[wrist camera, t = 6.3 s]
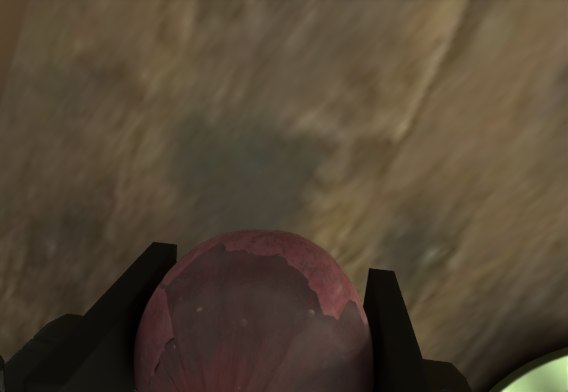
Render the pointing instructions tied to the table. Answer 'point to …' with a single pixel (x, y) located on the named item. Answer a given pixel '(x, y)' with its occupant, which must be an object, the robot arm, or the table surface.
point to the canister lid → (538, 375)
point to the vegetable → (254, 321)
